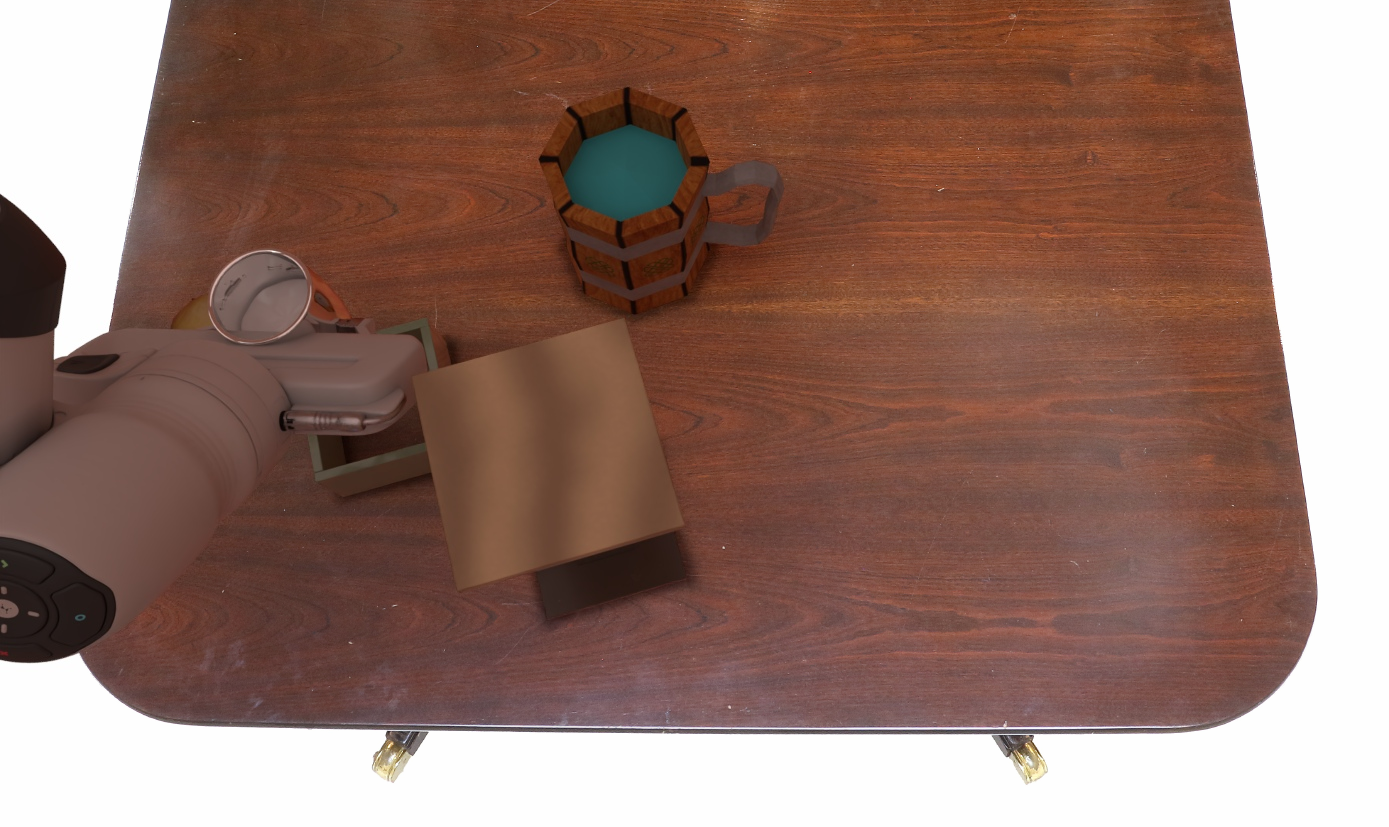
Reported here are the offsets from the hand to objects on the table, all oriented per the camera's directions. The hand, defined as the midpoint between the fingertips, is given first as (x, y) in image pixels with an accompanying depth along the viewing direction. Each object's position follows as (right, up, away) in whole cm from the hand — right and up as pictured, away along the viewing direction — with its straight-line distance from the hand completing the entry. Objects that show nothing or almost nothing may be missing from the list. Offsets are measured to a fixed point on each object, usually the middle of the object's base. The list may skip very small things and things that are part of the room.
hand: (306, 326), depth 64 cm
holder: (0, -6, +19) cm, 20 cm away
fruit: (-14, -1, +22) cm, 26 cm away
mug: (+24, +9, +24) cm, 35 cm away
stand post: (+19, -16, +16) cm, 29 cm away
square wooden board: (+18, -8, -10) cm, 22 cm away
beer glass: (0, -3, +8) cm, 9 cm away
